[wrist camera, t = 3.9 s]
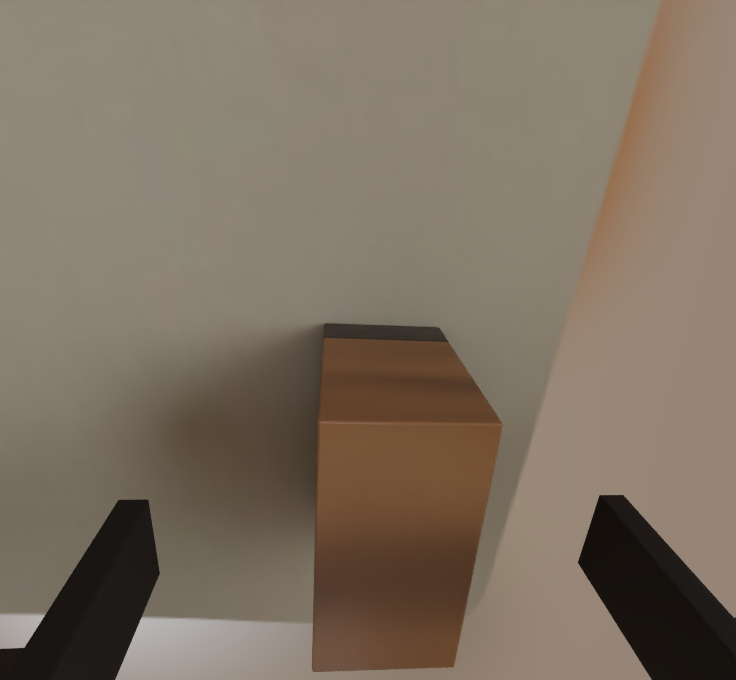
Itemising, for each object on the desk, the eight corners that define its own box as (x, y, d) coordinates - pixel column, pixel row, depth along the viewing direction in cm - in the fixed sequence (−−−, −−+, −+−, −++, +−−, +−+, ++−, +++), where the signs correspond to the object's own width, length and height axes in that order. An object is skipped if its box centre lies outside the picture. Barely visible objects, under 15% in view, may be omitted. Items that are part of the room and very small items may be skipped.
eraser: (324, 323, 17) (317, 421, 10) (439, 327, 17) (504, 424, 10) (319, 508, 20) (311, 673, 13) (416, 508, 20) (454, 668, 14)
